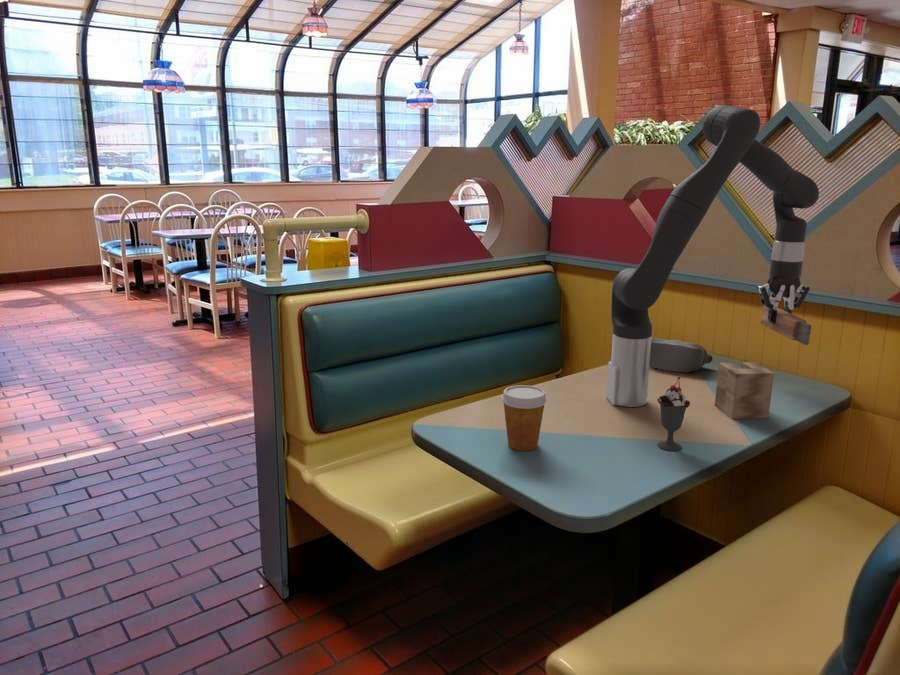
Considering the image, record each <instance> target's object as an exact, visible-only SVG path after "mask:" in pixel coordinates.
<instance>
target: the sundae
mask: <svg viewBox="0 0 900 675" xmlns="http://www.w3.org/2000/svg"><path fill="white" fill-rule="evenodd" d="M680 379H681V377H680V376H678V377H677V381H676V383H675V384H673V385H670V387H669V388H668V389H666V390H665V391H664V393H663V395H660V396H659V398H657V400H656V401H657V402H658V404H659V405H660V406H659V407H660V408H659V410H660V421H661V426H662V427H663V428H664V430H666V431H667V438H666V440H664V441H663V440H662V441H660V442H658V443H657V447H658V448H659V447H660V449H661V448H662V449H661V450H663V449H664V450H665V451H667V450H669V451H668V452H677V450H678V451H680V450H682V445H681V444H680V443H678V442H676V441H675V440H674V433H675V432H676V431H678V430H680V429H681V427H682V425H683V422H684V418H685V413H686V409H688V408H689V407H690V406H691V402H690V401H689V400H687V399H686V397H685V394H683V393H682V388H681V386H680V382H679V380H680ZM677 384H678V386H677V387H676V385H677Z"/></svg>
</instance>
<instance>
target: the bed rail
mask: <svg viewBox="0 0 900 675" xmlns="http://www.w3.org/2000/svg"><path fill="white" fill-rule="evenodd" d="M761 310H762V312H761V316H760V317H761V319H760V325H763V326H764V327H766V328H769V330H771V331H774V332H776V333H777V334H780V335H781V336H783V337H785V338H786V339H789V340H791V341H796V342H799V343H800V344H802V345H804V346H805V345H806V346H808V345H809V344H810V338H811V330H812V325H811V324H809V323H807V320H805V319H803V318H801V317H798V316H796V315H794V314H790V313H788V312H786V311H783V309H781V308H779V307H777V309H776V310H777V315H776V323H775V324H772V323H770V322H769V321H768V311H769V309H768V308H767V307H765V306H763V305H762V309H761Z"/></svg>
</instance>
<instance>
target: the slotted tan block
mask: <svg viewBox="0 0 900 675" xmlns="http://www.w3.org/2000/svg"><path fill="white" fill-rule="evenodd" d="M717 369H718V370H717V378H716V381H717V382H716V388H715V396H714V397H715V399H714V407H716V408H717V409H718V410H720V411H721V412H723V414H725V415H726V416H727V417H729V418H730V419H731V420H732V419H733V420H735V419H736V420H737V419H764V418H765V419H766V418H767V419H768V418H769V415H770V408H771V399H772V393H773V392H772V391H773V384H774V375H775V374H774V372H773V371H771V370H770V369H768V368H766V367H764V365H763V366H762V365H761V364H759V363H758V362H756V361H742V362H741V366H739V365H738V364H736V363H733V362H732V361H731V362H719V363H718V368H717Z"/></svg>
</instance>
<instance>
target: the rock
mask: <svg viewBox="0 0 900 675" xmlns="http://www.w3.org/2000/svg"><path fill="white" fill-rule="evenodd" d="M712 361H713V356H712V355H711V354H709V353H708V351H707V350H706V348H705V347H704V346H702V345H701V344H697V343H693V342H685V341H682V340H678V339H663V338H662V339H661V338H657V337H652V338H651V351H650V364H649V367H652V368H653V369H655V368H658V369H657V370H659V369H663V370H662V371H666V370H668V371H669V372H681V373H686V374H687V373H691V372H694V371H698V370H700V369H701V368H702V367H703V366H704V365H705V364H710V363H711V362H712Z"/></svg>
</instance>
